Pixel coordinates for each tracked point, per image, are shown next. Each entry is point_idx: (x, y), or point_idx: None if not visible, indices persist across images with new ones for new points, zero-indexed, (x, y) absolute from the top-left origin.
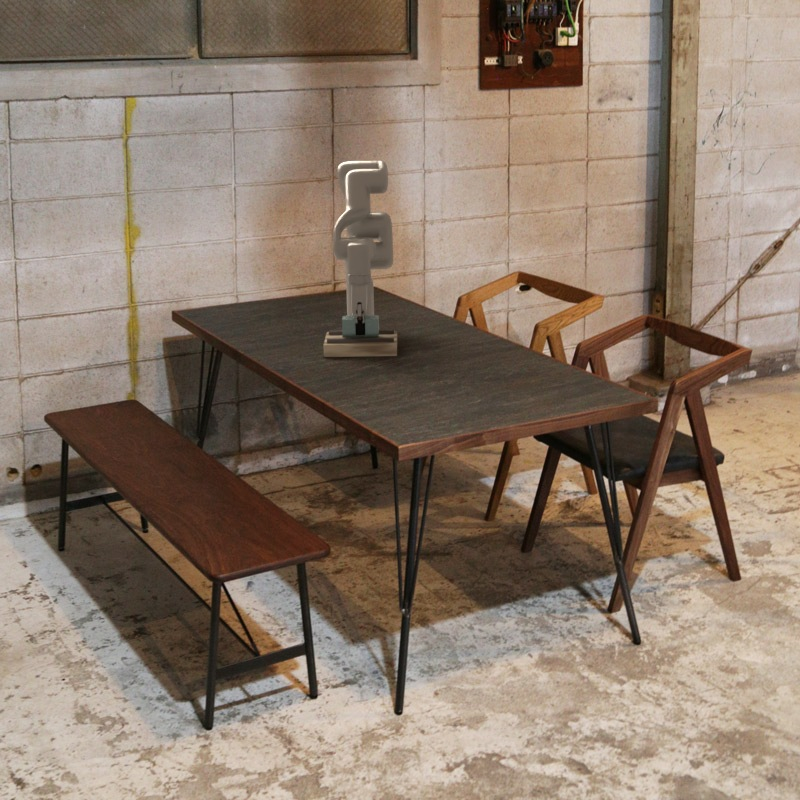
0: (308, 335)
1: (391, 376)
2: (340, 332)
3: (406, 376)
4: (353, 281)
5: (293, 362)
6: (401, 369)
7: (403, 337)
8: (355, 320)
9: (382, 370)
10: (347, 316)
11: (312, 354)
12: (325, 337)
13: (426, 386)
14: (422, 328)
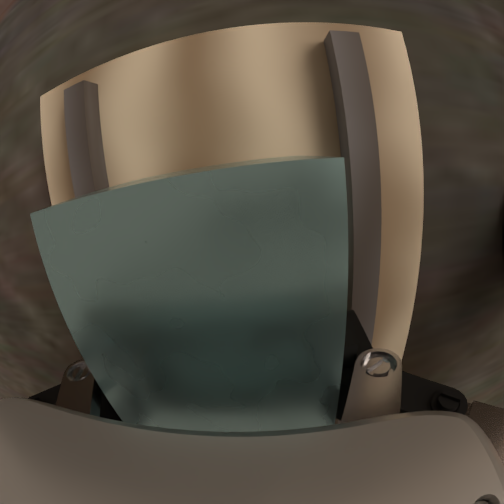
0: (482, 13)
1: (7, 357)
2: (343, 125)
3: (23, 383)
4: None
5: (35, 31)
6: (52, 386)
7: (438, 376)
8: (101, 376)
9: (24, 345)
10: (287, 265)
11: (138, 28)
12: (235, 28)
13: (7, 396)
14: (495, 382)
